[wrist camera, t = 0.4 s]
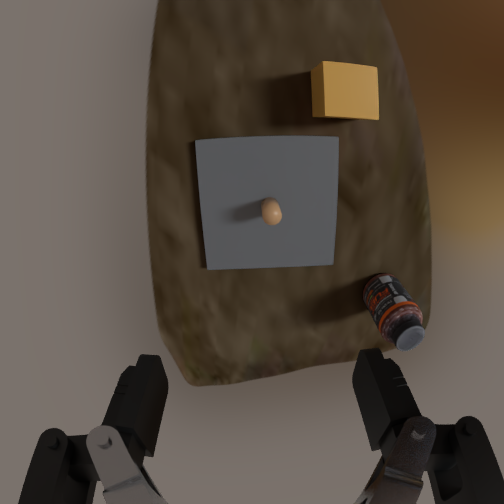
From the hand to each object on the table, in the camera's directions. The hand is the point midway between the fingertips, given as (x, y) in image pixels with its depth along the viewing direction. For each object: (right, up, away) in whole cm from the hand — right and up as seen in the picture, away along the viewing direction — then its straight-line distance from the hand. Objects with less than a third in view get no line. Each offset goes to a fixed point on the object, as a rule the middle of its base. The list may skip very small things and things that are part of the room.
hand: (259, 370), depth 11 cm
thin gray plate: (+2, +10, +24) cm, 26 cm away
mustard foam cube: (+9, +23, +18) cm, 30 cm away
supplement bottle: (+18, -1, +29) cm, 34 cm away
